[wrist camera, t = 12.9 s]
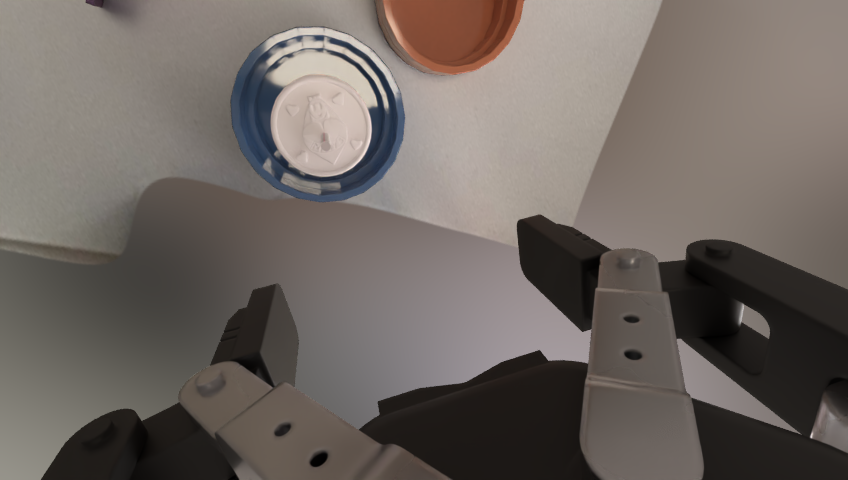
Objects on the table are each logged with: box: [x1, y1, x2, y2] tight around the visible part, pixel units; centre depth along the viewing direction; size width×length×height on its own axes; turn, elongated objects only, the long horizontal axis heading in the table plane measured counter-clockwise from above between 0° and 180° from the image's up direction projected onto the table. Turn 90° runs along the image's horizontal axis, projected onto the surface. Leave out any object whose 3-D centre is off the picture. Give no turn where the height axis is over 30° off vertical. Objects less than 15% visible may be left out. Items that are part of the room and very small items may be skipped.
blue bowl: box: [231, 27, 405, 202], centre depth 32 cm, size 13×13×4 cm
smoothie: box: [271, 74, 372, 176], centre depth 28 cm, size 6×6×14 cm
